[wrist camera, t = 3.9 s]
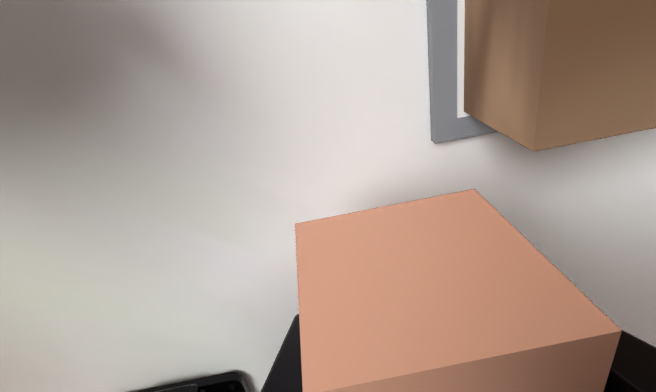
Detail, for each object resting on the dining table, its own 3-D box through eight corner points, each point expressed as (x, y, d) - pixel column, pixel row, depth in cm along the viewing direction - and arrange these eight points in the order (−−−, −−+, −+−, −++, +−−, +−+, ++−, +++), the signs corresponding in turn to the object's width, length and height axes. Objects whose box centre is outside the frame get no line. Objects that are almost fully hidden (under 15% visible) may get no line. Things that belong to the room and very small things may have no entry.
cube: (470, 318, 11) (573, 492, 7) (325, 348, 11) (347, 538, 7) (474, 188, 9) (622, 330, 5) (294, 224, 9) (302, 395, 5)
